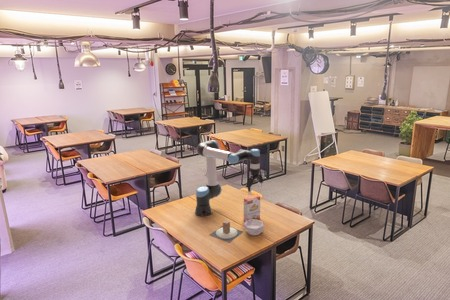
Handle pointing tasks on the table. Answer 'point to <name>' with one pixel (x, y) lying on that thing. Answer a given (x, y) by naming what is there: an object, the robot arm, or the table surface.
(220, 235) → the lid
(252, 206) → the cracker box
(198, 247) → the table surface
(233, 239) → the mat
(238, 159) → the robot arm
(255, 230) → the paper bowls
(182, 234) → the table surface
